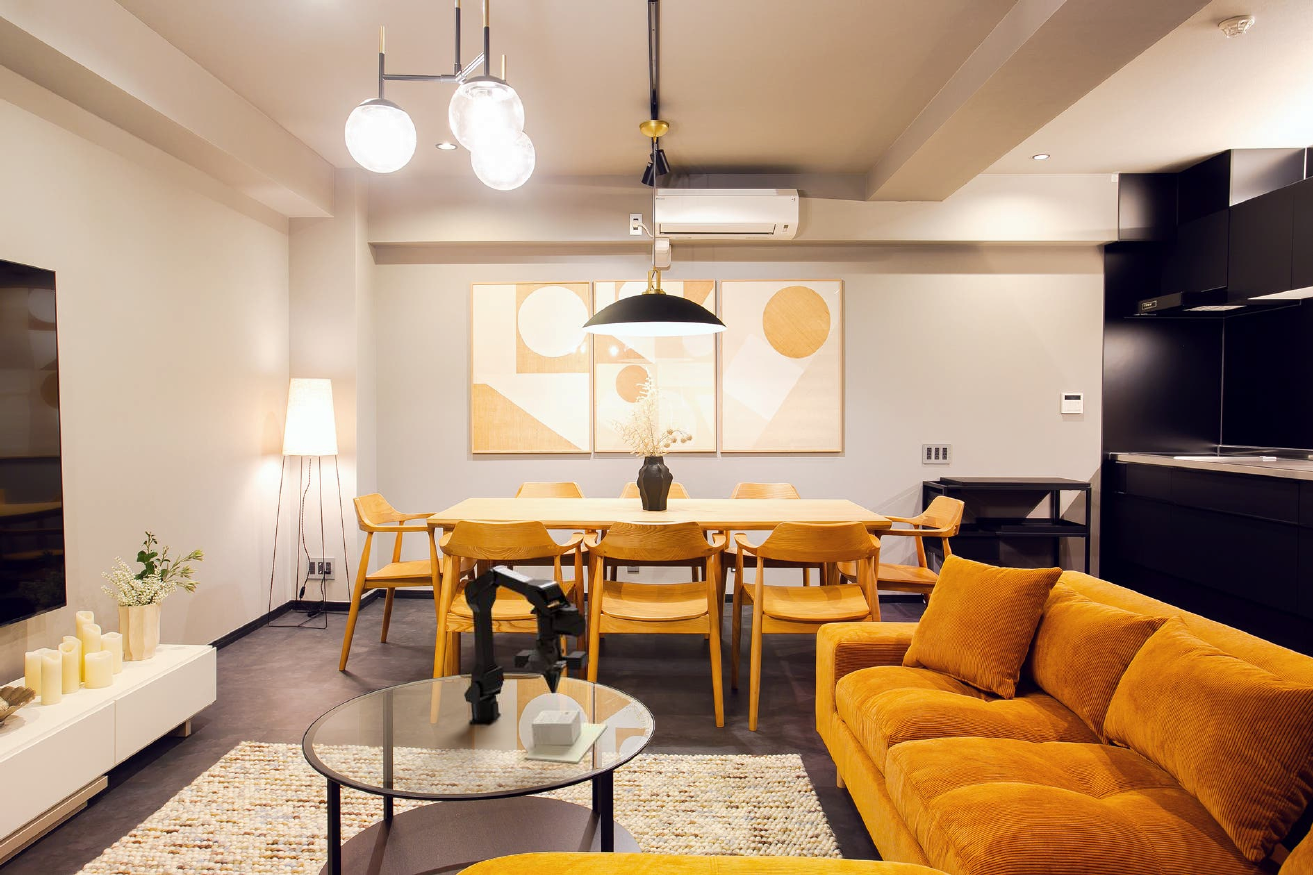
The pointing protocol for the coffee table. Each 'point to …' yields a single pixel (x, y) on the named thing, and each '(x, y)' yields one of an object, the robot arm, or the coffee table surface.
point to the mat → (569, 746)
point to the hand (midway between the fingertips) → (553, 692)
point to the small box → (556, 728)
